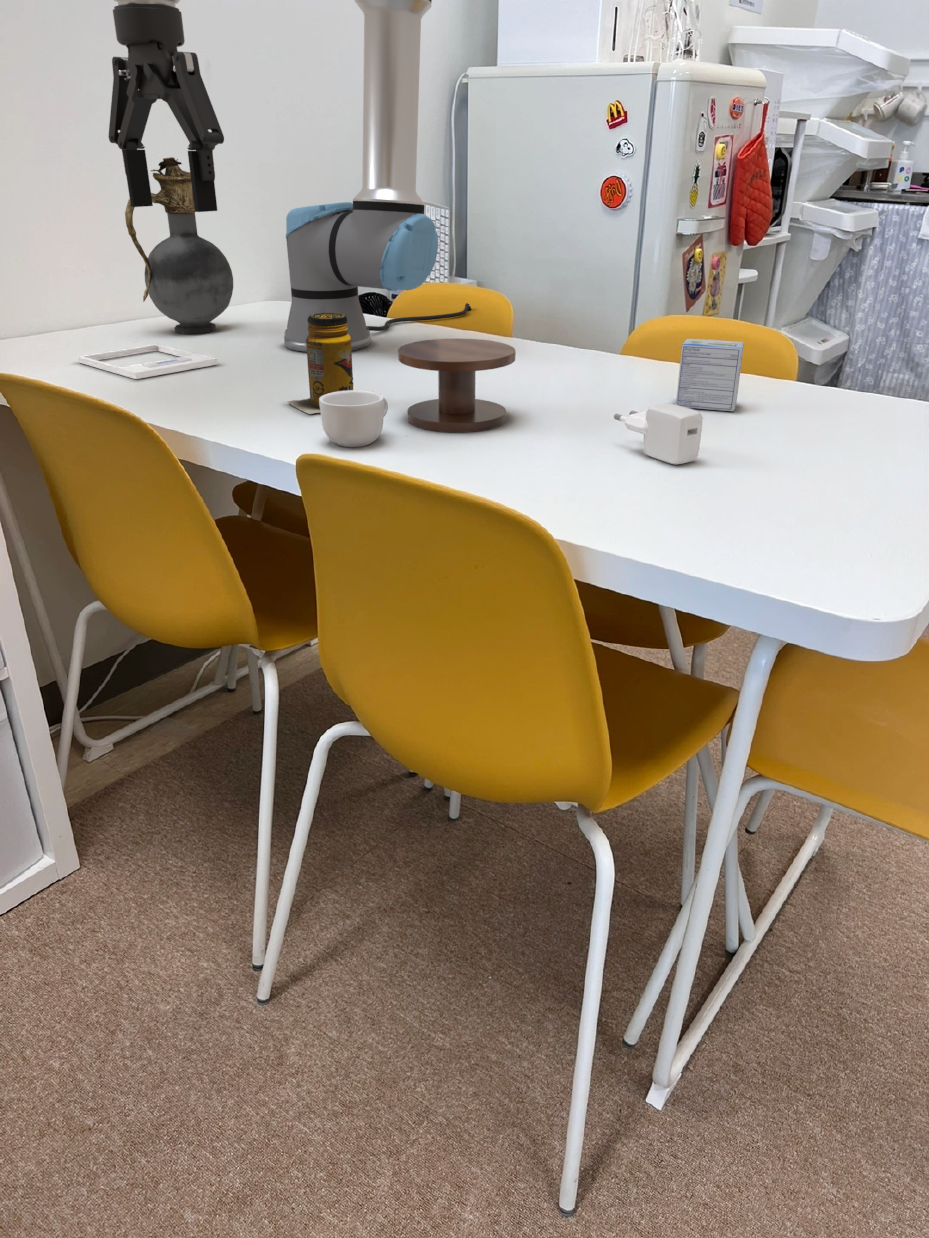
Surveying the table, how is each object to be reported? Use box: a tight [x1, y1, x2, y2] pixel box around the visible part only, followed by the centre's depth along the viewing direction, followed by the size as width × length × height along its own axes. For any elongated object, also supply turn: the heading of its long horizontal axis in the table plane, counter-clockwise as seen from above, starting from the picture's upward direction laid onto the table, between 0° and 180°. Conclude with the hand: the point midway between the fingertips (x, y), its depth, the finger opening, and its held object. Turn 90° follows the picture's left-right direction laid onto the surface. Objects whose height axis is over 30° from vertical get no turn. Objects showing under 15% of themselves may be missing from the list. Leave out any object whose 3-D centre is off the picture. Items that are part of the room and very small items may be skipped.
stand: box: [397, 338, 517, 434], centre depth 122 cm, size 15×15×9 cm
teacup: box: [319, 389, 389, 448], centre depth 113 cm, size 10×8×5 cm
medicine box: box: [675, 338, 745, 412], centre depth 128 cm, size 8×4×9 cm, turn 71°
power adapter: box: [613, 403, 704, 465], centre depth 109 cm, size 11×5×6 cm, turn 35°
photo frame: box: [76, 343, 218, 380], centre depth 153 cm, size 15×1×18 cm
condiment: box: [286, 313, 354, 415], centre depth 127 cm, size 7×8×12 cm
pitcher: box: [124, 156, 234, 335], centre depth 172 cm, size 11×19×30 cm, turn 139°
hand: (173, 209), depth 116 cm, fingers open, 13 cm apart
